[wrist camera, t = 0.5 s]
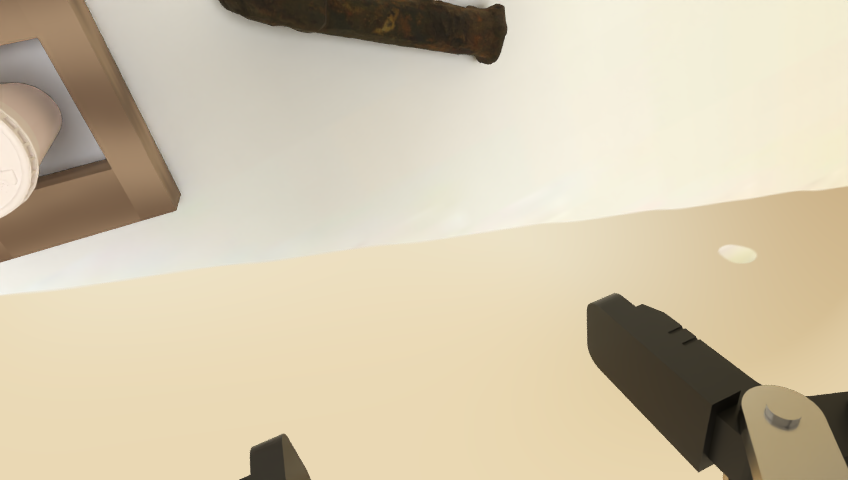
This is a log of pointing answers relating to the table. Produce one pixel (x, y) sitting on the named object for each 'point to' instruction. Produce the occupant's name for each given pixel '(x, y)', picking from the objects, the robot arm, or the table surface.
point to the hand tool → (389, 22)
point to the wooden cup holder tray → (111, 127)
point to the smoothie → (23, 140)
